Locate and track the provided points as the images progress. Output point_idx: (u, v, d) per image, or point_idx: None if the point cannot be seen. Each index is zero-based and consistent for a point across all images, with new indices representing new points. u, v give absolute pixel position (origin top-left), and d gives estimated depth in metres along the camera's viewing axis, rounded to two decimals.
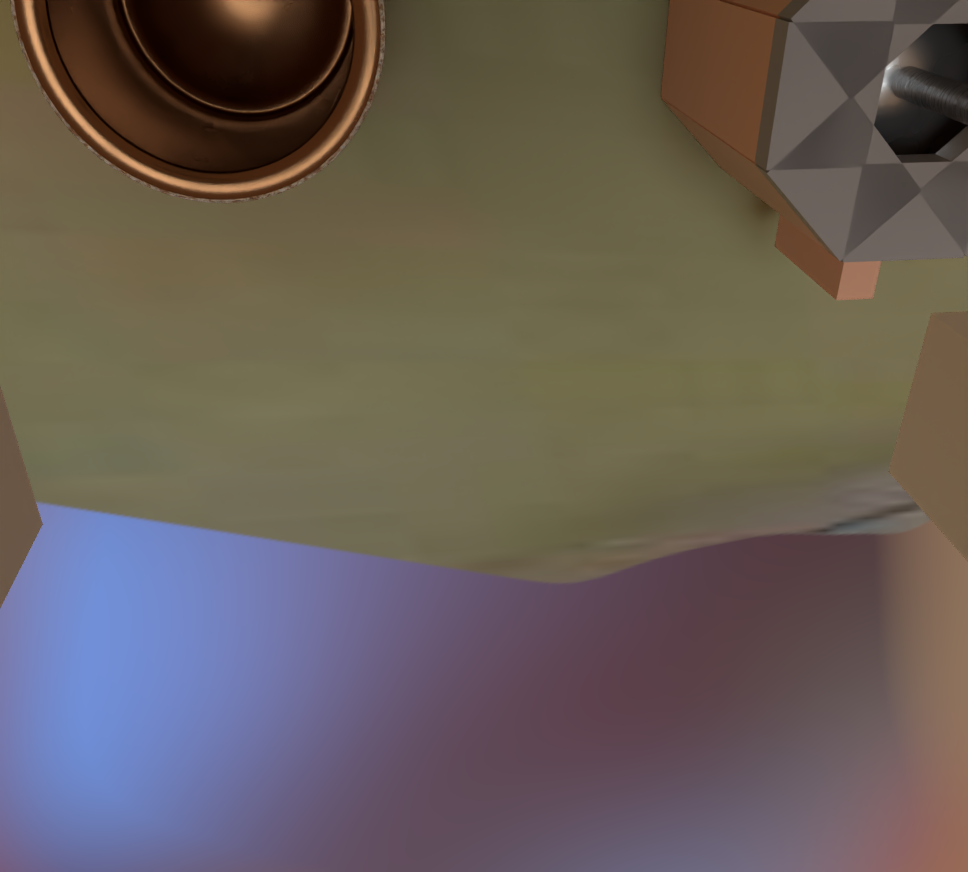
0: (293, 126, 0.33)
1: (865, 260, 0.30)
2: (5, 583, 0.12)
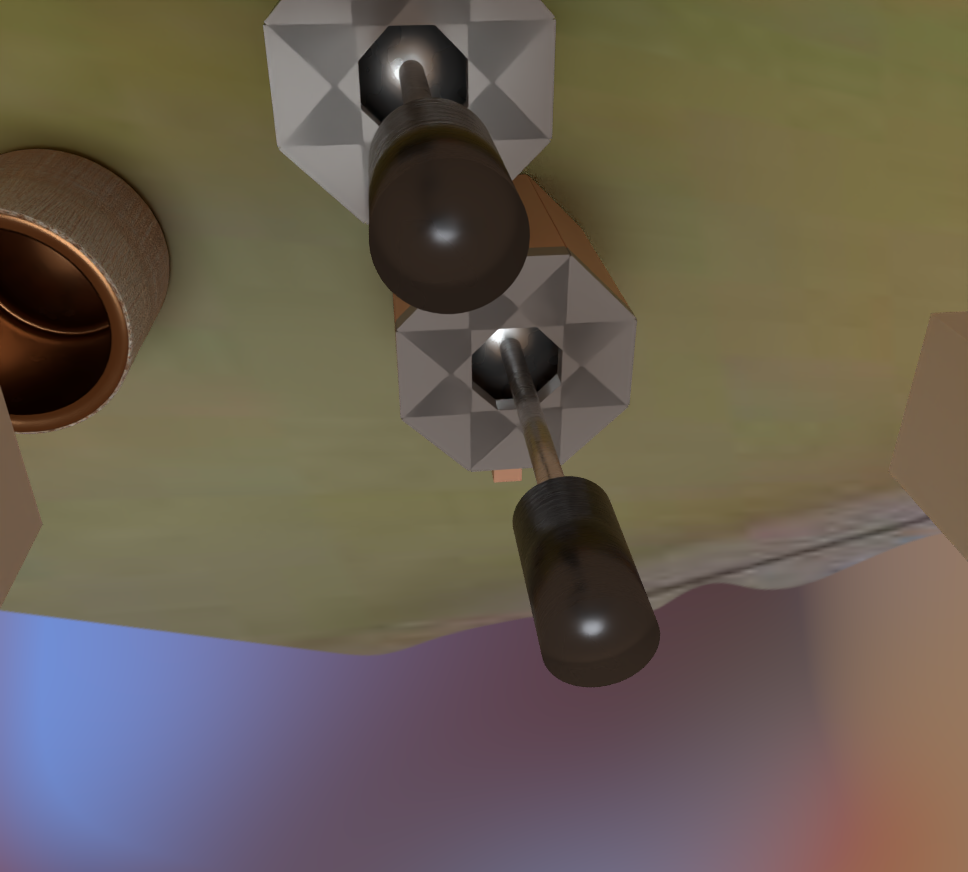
0: (94, 360, 0.46)
1: (487, 469, 0.43)
2: (5, 583, 0.12)
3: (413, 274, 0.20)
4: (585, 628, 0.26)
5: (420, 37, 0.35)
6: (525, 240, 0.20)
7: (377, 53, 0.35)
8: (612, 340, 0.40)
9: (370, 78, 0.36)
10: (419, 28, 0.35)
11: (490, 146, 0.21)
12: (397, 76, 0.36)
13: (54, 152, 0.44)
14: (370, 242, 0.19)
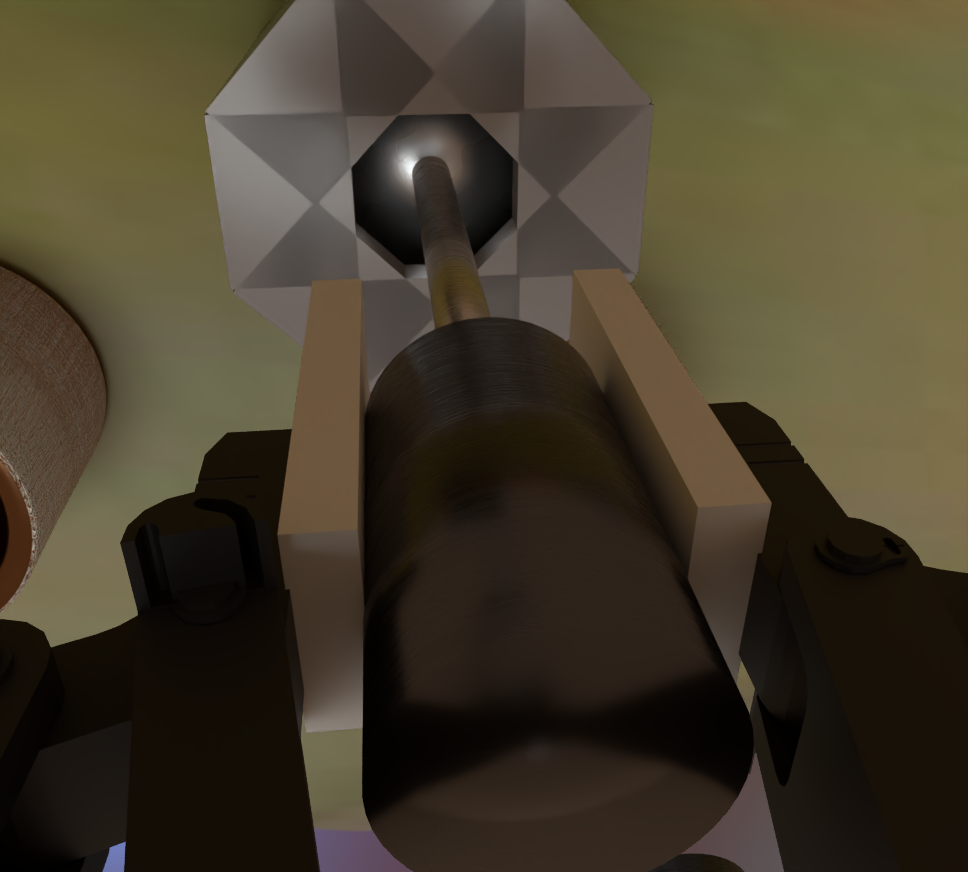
0: (0, 529, 0.34)
1: None
2: None
3: (469, 843, 0.08)
4: None
5: (444, 124, 0.24)
6: (740, 770, 0.08)
7: (380, 147, 0.24)
8: None
9: (370, 182, 0.24)
10: None
11: (629, 478, 0.10)
12: (410, 179, 0.24)
13: None
14: (365, 794, 0.08)
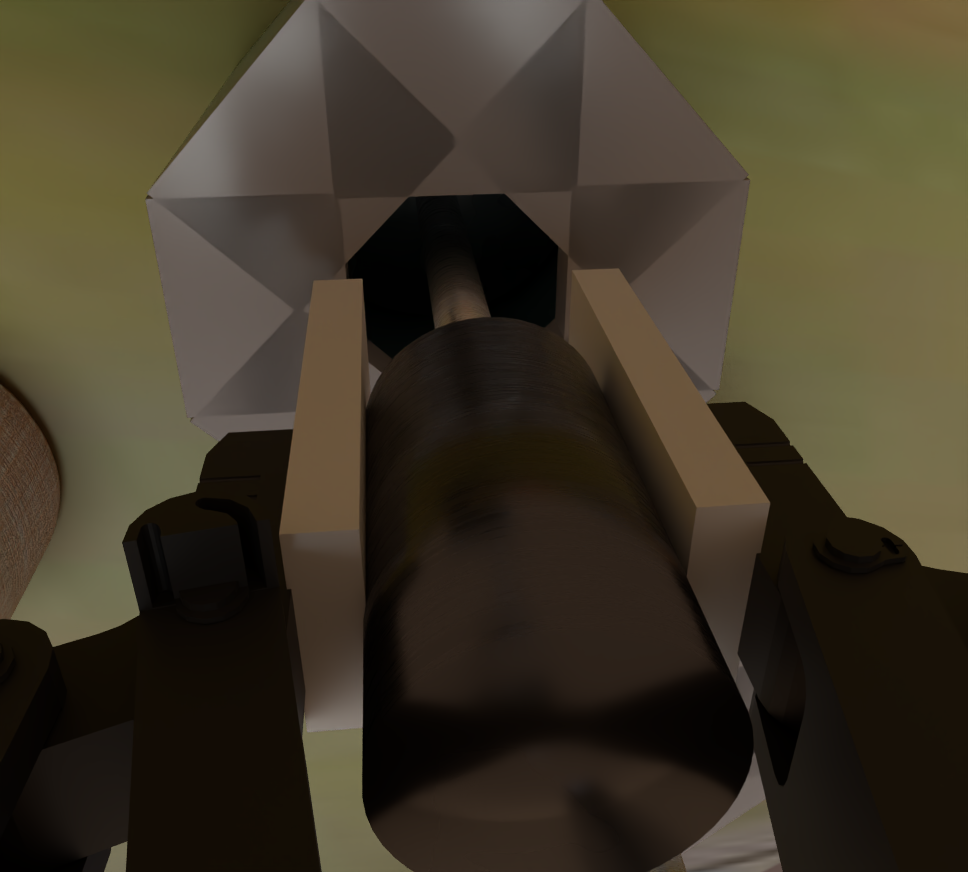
0: None
1: None
2: None
3: (470, 843, 0.08)
4: None
5: None
6: (740, 770, 0.08)
7: None
8: None
9: None
10: None
11: (629, 478, 0.10)
12: None
13: None
14: (365, 794, 0.08)
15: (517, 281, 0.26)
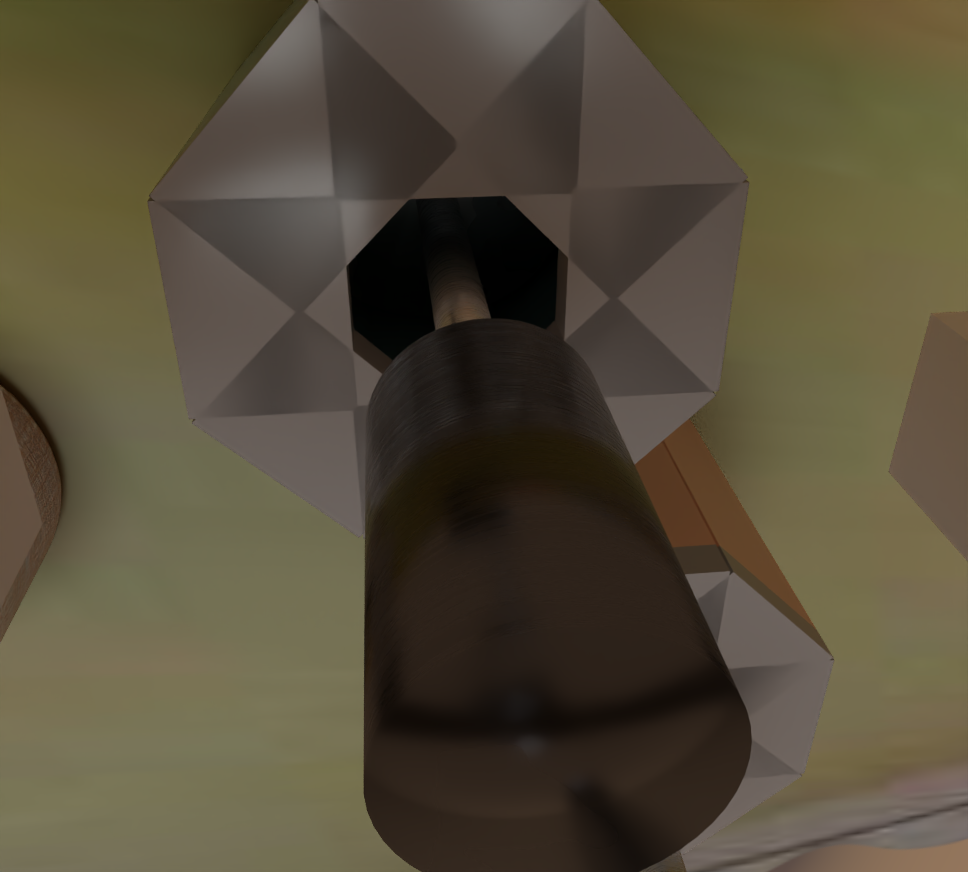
0: None
1: None
2: (5, 583, 0.12)
3: (470, 838, 0.08)
4: None
5: None
6: (738, 767, 0.08)
7: None
8: (788, 689, 0.23)
9: None
10: None
11: (628, 478, 0.10)
12: None
13: None
14: (367, 790, 0.08)
15: (517, 283, 0.26)
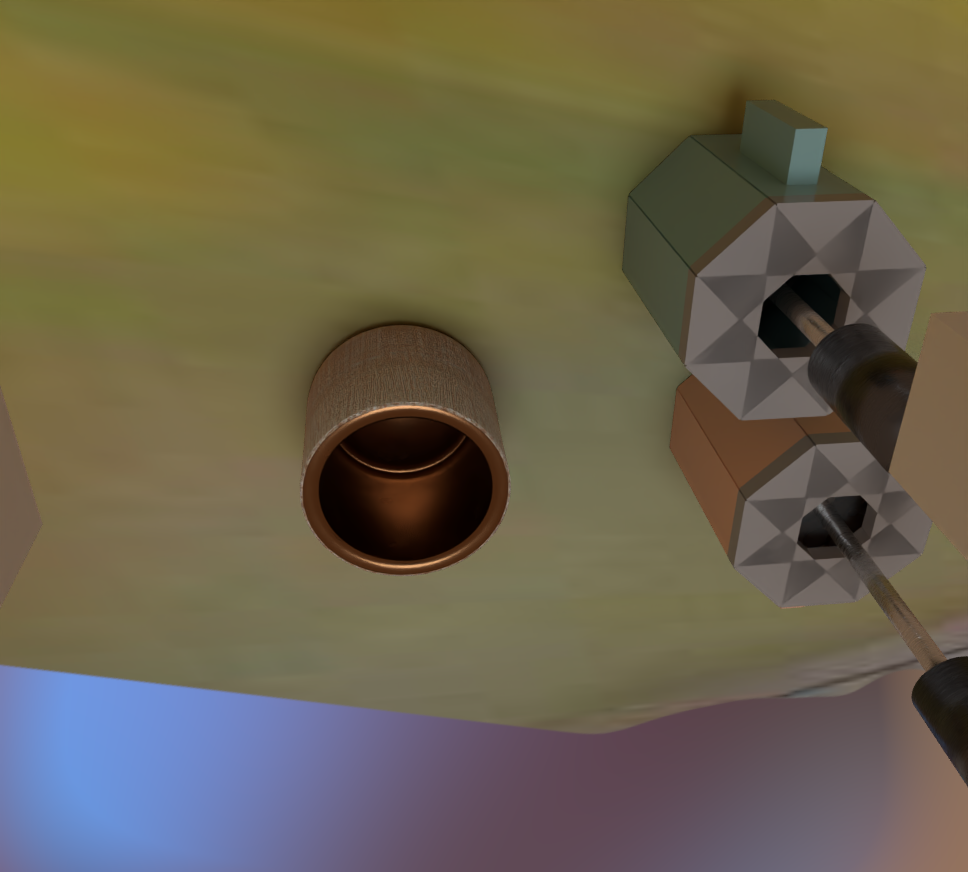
0: (440, 504, 0.53)
1: (794, 606, 0.50)
2: (5, 583, 0.12)
3: None
4: None
5: None
6: None
7: None
8: None
9: None
10: None
11: None
12: None
13: (417, 329, 0.51)
14: (879, 440, 0.32)
15: (771, 303, 0.50)
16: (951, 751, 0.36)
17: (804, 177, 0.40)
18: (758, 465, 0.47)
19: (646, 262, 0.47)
